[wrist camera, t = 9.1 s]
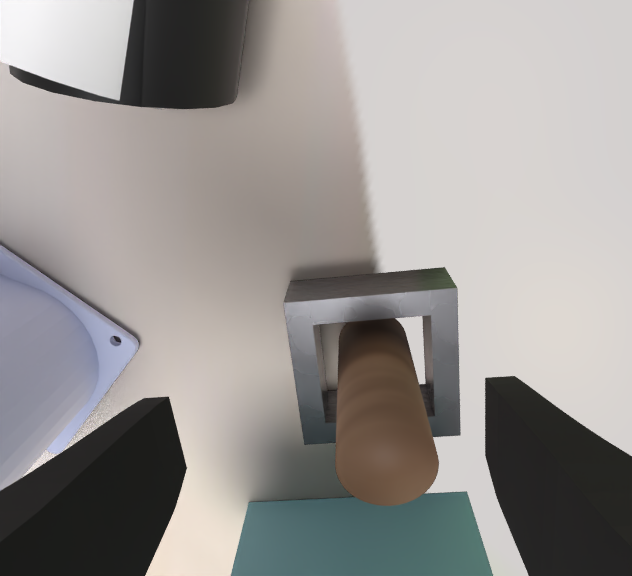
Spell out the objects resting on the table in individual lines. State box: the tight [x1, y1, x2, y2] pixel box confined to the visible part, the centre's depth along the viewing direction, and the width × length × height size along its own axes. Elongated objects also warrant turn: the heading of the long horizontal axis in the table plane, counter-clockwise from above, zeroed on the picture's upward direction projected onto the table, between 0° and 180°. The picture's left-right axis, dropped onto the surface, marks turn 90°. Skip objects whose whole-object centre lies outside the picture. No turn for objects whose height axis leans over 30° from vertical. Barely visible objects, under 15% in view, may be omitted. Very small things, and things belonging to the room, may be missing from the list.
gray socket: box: [283, 267, 460, 445], centre depth 21 cm, size 6×6×2 cm
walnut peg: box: [335, 318, 439, 506], centre depth 18 cm, size 3×3×8 cm
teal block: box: [231, 492, 493, 576], centre depth 19 cm, size 11×5×11 cm, turn 97°
